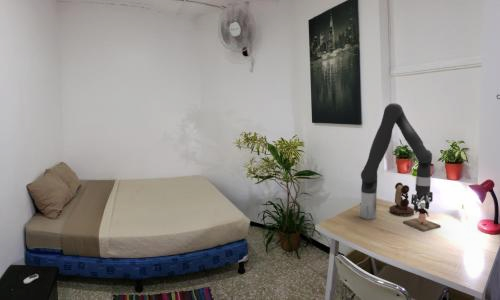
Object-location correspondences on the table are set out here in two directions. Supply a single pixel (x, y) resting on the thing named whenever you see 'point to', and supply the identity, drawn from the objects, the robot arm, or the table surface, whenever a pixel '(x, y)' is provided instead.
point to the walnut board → (421, 225)
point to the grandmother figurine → (422, 213)
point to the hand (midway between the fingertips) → (421, 209)
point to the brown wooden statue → (401, 201)
